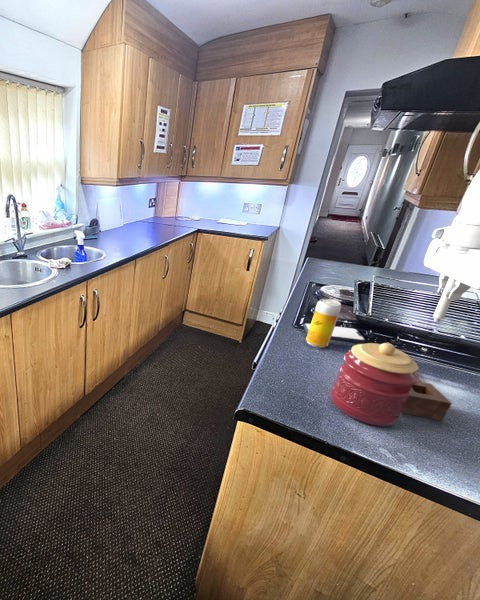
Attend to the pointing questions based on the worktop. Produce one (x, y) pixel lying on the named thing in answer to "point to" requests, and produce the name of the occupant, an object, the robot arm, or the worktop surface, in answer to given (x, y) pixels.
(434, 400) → the pen stand
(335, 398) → the kitchen canister
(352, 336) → the phone case
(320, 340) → the pint of beer
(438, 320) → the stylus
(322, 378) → the worktop surface
